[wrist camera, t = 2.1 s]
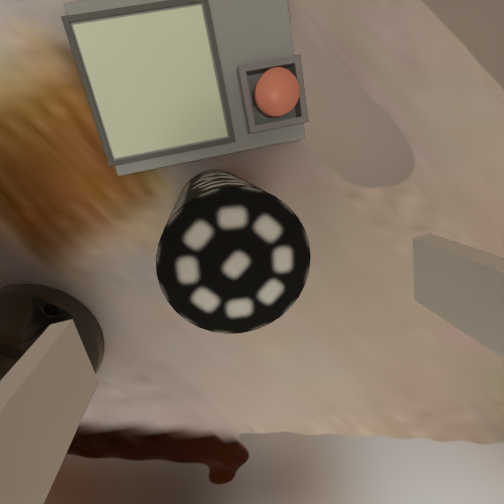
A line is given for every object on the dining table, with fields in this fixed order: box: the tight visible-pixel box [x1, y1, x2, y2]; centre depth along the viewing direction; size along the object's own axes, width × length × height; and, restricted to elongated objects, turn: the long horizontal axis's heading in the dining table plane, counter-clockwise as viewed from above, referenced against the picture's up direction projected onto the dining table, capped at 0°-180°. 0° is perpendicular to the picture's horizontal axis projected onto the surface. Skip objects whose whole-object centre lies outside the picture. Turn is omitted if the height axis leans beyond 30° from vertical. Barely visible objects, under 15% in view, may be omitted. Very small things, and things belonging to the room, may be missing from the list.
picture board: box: [61, 0, 308, 176], centre depth 31 cm, size 20×15×3 cm
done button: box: [253, 67, 299, 118], centre depth 31 cm, size 4×4×2 cm
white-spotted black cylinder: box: [156, 170, 310, 334], centre depth 27 cm, size 8×8×20 cm
